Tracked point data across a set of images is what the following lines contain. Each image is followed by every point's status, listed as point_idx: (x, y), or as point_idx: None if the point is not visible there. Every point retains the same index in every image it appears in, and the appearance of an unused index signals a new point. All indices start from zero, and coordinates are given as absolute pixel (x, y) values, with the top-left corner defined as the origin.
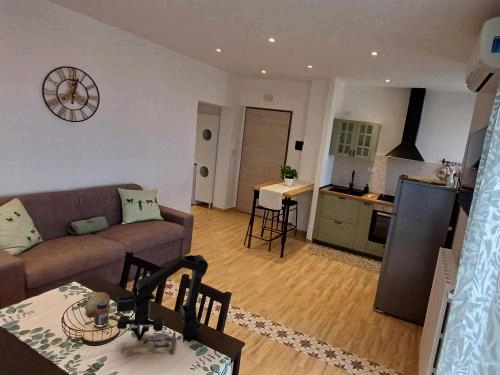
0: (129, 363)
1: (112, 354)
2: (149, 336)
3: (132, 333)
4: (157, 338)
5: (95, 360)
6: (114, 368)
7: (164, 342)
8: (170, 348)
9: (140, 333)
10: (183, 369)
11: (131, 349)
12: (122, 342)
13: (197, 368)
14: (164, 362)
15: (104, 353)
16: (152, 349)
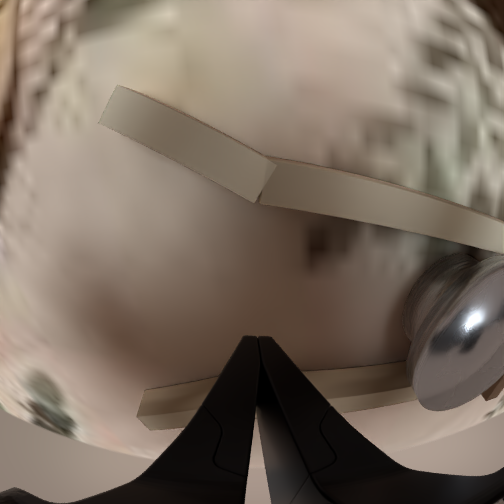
0: None
1: (68, 372)
2: (383, 225)
3: (123, 131)
4: (462, 358)
5: (22, 388)
6: (138, 450)
7: (483, 389)
8: (484, 398)
9: (246, 150)
10: (463, 427)
11: (190, 413)
12: (69, 248)
13: (501, 409)
14: (414, 422)
15: (23, 353)
16: (378, 406)
